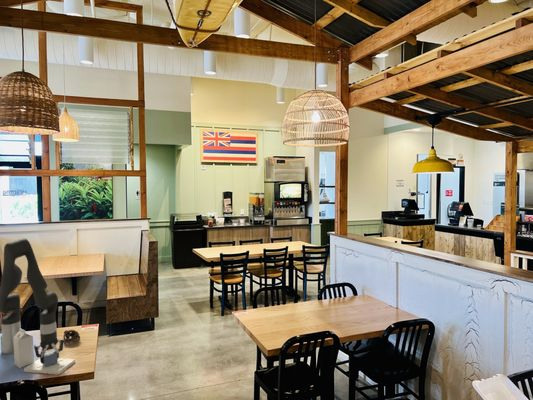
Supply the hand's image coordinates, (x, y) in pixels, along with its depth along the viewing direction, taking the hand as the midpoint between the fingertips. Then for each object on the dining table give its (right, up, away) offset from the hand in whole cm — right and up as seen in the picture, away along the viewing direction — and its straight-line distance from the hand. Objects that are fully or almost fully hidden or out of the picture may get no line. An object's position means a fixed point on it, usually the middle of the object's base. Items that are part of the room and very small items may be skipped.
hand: (49, 361), depth 203 cm
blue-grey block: (0, -1, 0) cm, 1 cm away
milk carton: (-16, -3, +4) cm, 17 cm away
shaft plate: (0, -3, 0) cm, 3 cm away
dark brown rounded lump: (-5, -1, +31) cm, 31 cm away
